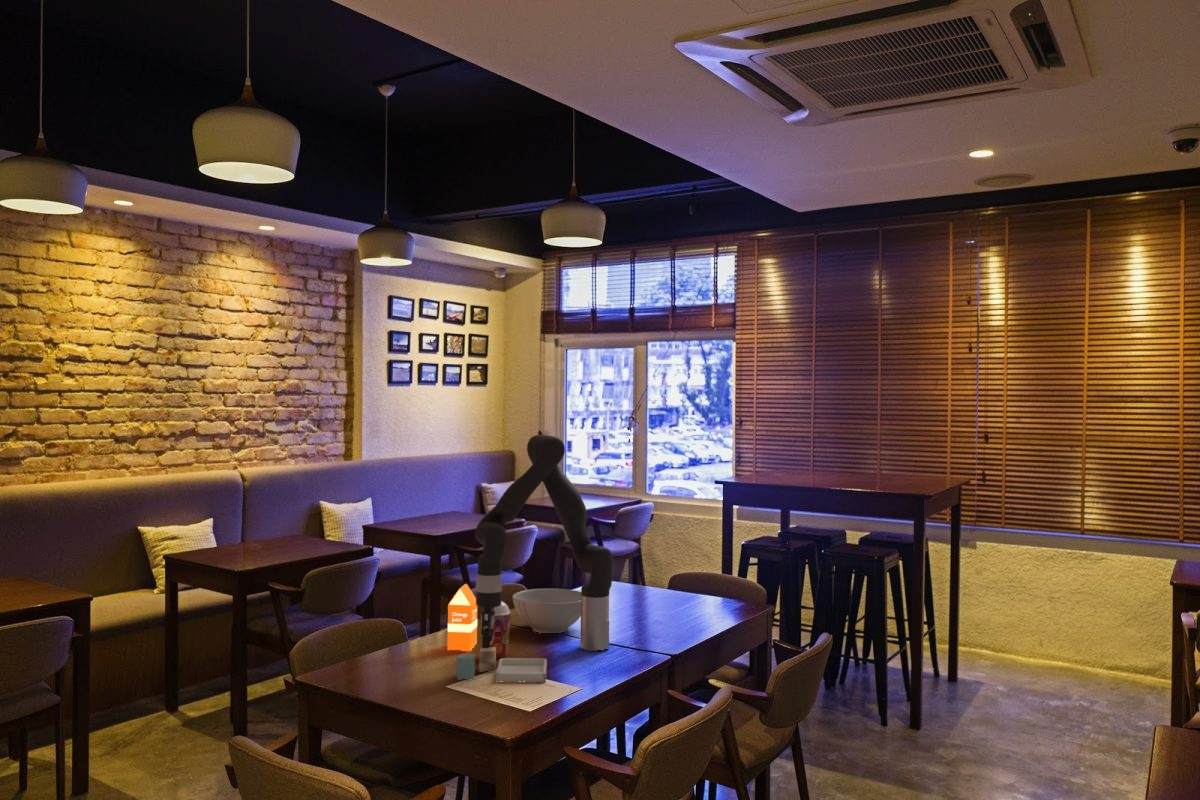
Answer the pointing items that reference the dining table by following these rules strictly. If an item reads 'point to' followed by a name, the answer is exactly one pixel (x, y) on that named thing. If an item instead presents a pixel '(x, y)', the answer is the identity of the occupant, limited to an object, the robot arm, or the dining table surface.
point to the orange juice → (462, 620)
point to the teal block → (465, 666)
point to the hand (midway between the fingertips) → (487, 644)
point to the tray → (522, 670)
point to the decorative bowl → (548, 608)
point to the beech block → (487, 659)
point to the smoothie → (501, 630)
